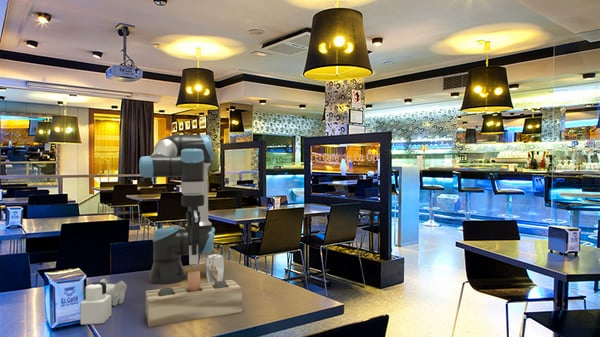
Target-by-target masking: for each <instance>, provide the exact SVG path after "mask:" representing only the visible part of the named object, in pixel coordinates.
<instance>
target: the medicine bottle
mask: <svg viewBox="0 0 600 337" xmlns="http://www.w3.org/2000/svg"><path fill="white" fill-rule="evenodd" d="M79 305H80V306H79V308H80V309H79V310H80V314H79V316H80V325H98V324H99V325H100V324H101V325H102V323H103V324H104V323H106V321H108V320H109V319H110V318H111V317H112V313H113V312H112V306H111V295H106V284H105V283H103V282H100V281H99V282H98V281H97V282H96V281H95V282H91V283H88V284H87V285H86V286H85V299H83V300H82V301H81V302H80V304H79ZM110 316H111V317H110ZM109 317H110V318H109Z"/></svg>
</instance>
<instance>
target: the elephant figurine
mask: <svg viewBox="0 0 600 337" xmlns="http://www.w3.org/2000/svg"><path fill="white" fill-rule="evenodd" d="M99 282H103V283H105V284H106V295H111V307H116V306H117V305H121V304H123V303H124V300H125V296H126V295H125V294H126V292H127V288H128V286H127V284H126V283H125V282H124V281H123V280H119V281H118V282H117V283H115V284H114V283H108V281H107V279H105V278H102V279H100V280H99Z"/></svg>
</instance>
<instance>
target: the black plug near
mask: <svg viewBox="0 0 600 337" xmlns="http://www.w3.org/2000/svg"><path fill="white" fill-rule="evenodd" d="M172 288H173V287H163V288H159V289H160V296H167V295H173V289H172Z"/></svg>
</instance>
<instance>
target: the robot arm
mask: <svg viewBox="0 0 600 337" xmlns="http://www.w3.org/2000/svg"><path fill="white" fill-rule="evenodd" d="M153 148H154V149H153V152H152V154H151V155H146V156H145V155H144V156H141V157H140V158H139V162H138V163H139V164H138V169H139V175H140V176H141V177H142V178H151V179H152V178H181V179H180V182H181V183H180V185H179V188H180V189H181V190H180V191H181V194H182V195H181V196H180V197H181V198H180V199H181V202H180V203H181V206H182V207H185V208H187V211H186V213H185V216H186V224H185V228H182V227H181V226H180V225H169V226H165V227H160V228H158V229H156V230H154V232H153V236H152V248H153V249H152V250H153V252H152V253H153V255H152V256H153V261H152V262H153V264H152V266H151V270H150V274H149V276H148V277H149V279H148V280H149V281H148V282H149V283H152V284H154V285H155V284H159V285H162V284H163V285H165V284H166V285H167V284H173V283H178V282H182V281H183V280H185V279H186V272H185V270H184V267H183V263H182V260H181V259H182V256H189V257H188V259H189V260H188V261H189V262H188V264H189V265H191V266H192V265H199V255H205V254H206V255H207V254H210V253H212V252H213V249H214V244H215V243H214V242H215V233H216V232H215V231H216V229H215V227H213V225H212V224H213V223H212V222H211V221H209V186H208V185H209V183H208V178H209V177H208V176H209V174H208V172H209V171H208V168H209V167H210V166H211V164H212V161H214V160H215V158H214V155H215V154H214V150H213V148H214V147H213V144H212V137H211V136H210V135H208V134H200V133H199V134H172V135H171V134H170V135H168V136H166V137H163V138H161V139H159V140H158V141H157V142H156V143H155V145H154V147H153Z"/></svg>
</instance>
